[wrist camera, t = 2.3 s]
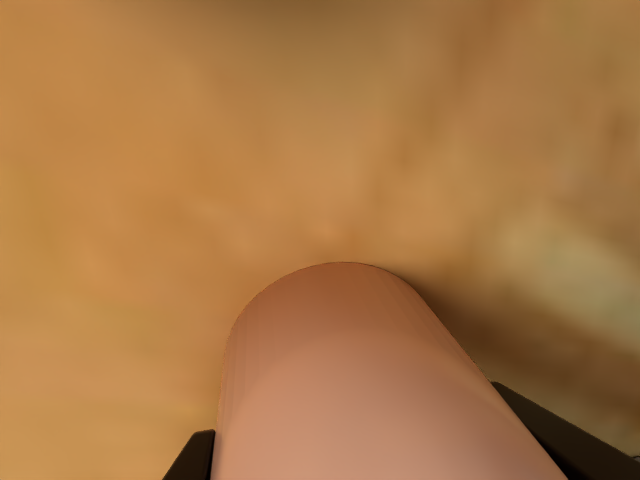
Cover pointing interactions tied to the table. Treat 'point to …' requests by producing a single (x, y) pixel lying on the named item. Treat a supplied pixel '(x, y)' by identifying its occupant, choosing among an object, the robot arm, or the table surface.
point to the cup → (360, 390)
